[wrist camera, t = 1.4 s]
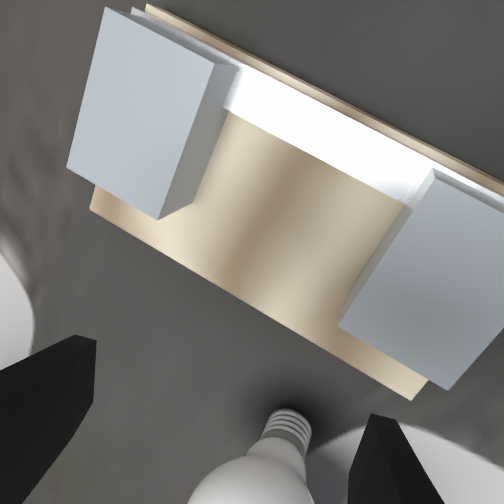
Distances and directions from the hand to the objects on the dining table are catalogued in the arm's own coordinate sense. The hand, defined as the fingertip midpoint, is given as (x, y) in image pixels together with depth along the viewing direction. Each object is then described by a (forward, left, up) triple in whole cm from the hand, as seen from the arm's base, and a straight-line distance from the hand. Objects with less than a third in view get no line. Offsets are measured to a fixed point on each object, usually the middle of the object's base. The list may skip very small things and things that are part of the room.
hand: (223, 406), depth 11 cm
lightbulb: (-4, +11, -13) cm, 17 cm away
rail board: (+2, -1, -13) cm, 13 cm away
